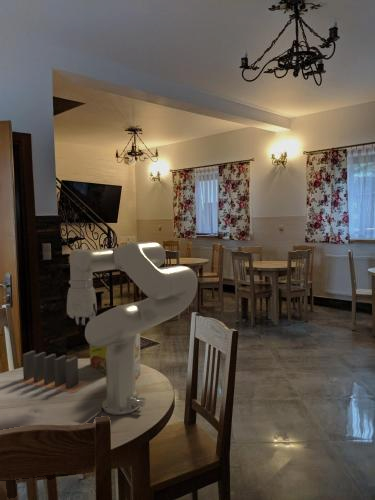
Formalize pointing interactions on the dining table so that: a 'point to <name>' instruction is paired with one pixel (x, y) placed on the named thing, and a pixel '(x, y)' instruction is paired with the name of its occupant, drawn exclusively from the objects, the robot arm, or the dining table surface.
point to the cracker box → (137, 357)
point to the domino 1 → (28, 365)
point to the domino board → (52, 385)
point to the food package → (98, 357)
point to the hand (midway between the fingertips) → (83, 334)
